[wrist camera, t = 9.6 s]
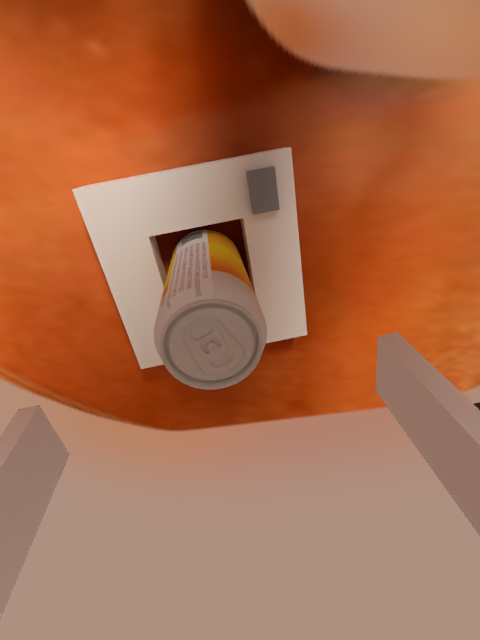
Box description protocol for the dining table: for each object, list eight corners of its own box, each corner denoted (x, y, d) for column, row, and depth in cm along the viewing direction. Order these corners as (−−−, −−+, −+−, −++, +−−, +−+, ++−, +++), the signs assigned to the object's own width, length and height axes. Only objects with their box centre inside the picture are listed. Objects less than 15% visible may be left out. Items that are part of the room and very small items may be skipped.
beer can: (196, 303, 32) (195, 412, 19) (158, 250, 29) (125, 334, 16) (251, 271, 31) (290, 361, 18) (216, 214, 28) (233, 269, 15)
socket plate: (84, 185, 26) (68, 190, 23) (281, 147, 27) (294, 147, 23) (145, 352, 34) (139, 374, 30) (298, 320, 34) (309, 339, 31)
